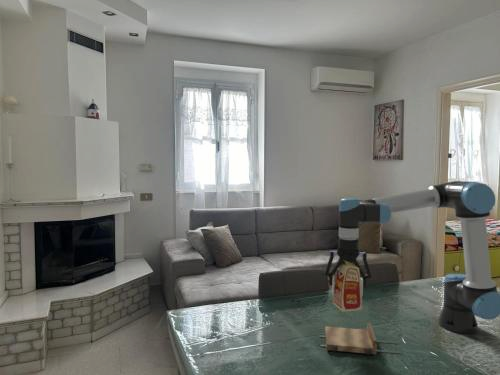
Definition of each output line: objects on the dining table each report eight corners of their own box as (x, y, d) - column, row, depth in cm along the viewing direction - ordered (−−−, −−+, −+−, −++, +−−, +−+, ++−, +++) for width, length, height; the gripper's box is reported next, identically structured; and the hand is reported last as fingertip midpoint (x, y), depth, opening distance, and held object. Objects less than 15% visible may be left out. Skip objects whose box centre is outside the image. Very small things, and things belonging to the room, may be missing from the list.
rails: (396, 342, 146) (396, 342, 146) (401, 354, 137) (401, 353, 137) (319, 336, 151) (319, 335, 151) (320, 346, 143) (320, 345, 143)
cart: (369, 334, 152) (370, 322, 152) (376, 355, 135) (377, 341, 135) (325, 330, 155) (325, 318, 155) (326, 350, 138) (327, 337, 138)
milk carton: (343, 311, 139) (344, 259, 138) (331, 303, 148) (332, 254, 147) (364, 309, 141) (365, 258, 140) (352, 301, 150) (353, 252, 149)
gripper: (377, 237, 145) (375, 293, 146) (318, 235, 149) (317, 289, 150) (380, 241, 137) (378, 299, 139) (318, 238, 141) (317, 295, 142)
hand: (347, 294), depth 144 cm, fingers closed on milk carton, 10 cm apart
